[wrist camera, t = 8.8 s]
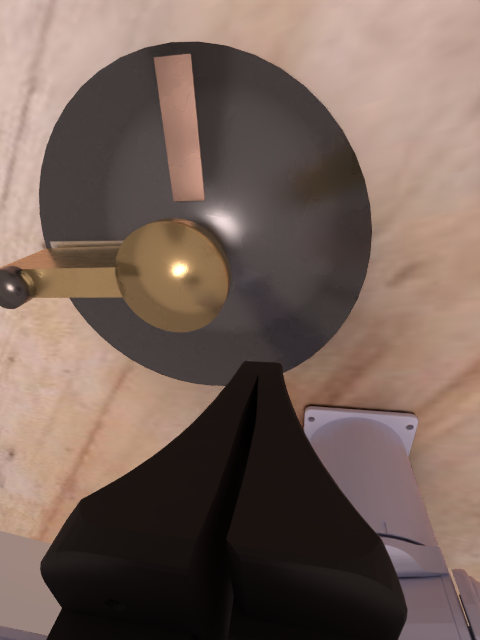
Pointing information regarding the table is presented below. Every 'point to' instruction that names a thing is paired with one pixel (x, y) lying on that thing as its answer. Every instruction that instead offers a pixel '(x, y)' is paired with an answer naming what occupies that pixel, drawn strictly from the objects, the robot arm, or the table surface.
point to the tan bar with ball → (133, 275)
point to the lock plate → (214, 201)
